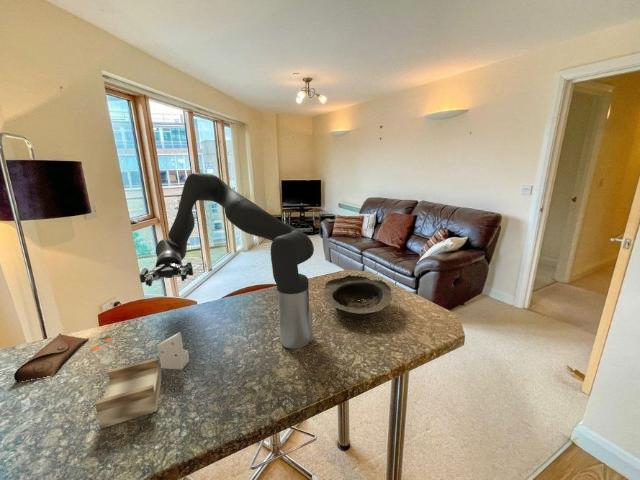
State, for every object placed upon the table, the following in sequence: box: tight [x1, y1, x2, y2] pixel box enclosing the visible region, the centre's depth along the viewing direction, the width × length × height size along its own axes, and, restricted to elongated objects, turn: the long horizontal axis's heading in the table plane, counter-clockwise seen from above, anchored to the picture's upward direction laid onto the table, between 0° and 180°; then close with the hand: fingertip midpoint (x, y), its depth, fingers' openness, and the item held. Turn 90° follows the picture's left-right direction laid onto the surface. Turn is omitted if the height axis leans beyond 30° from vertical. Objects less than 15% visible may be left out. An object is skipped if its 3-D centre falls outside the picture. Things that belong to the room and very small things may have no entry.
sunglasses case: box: [13, 332, 90, 383], centre depth 79 cm, size 18×7×7 cm
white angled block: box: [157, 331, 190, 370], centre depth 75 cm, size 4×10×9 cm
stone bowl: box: [322, 274, 393, 320], centre depth 102 cm, size 25×25×9 cm
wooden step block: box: [94, 357, 162, 429], centre depth 63 cm, size 10×11×6 cm
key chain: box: [83, 330, 114, 357], centre depth 87 cm, size 13×7×1 cm, turn 30°
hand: (166, 280), depth 81 cm, fingers open, 8 cm apart
